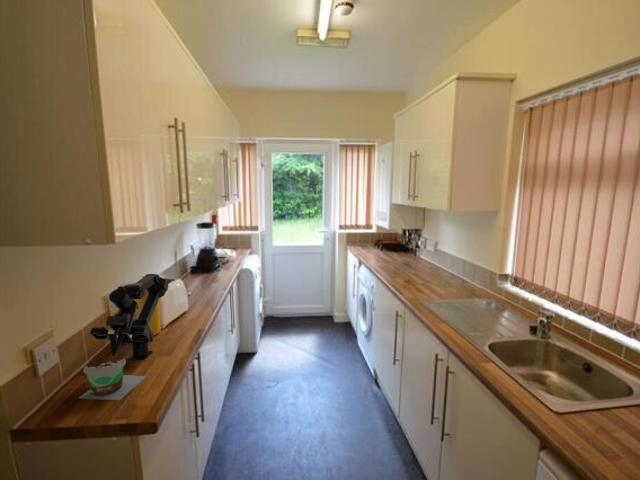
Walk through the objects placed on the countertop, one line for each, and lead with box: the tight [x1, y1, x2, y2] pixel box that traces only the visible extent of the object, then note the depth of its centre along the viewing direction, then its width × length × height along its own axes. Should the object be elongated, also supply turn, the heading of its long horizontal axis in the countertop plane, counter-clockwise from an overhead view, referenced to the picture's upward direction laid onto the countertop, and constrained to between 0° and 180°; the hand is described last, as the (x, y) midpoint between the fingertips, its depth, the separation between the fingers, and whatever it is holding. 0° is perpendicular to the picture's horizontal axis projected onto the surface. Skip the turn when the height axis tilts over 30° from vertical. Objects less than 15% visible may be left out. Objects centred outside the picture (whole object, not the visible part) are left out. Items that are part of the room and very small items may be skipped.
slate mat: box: [78, 374, 147, 402], centre depth 117 cm, size 15×14×1 cm
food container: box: [83, 357, 127, 396], centre depth 113 cm, size 12×6×10 cm, turn 126°
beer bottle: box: [137, 273, 161, 336], centre depth 163 cm, size 9×9×29 cm
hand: (113, 356), depth 118 cm, fingers closed
